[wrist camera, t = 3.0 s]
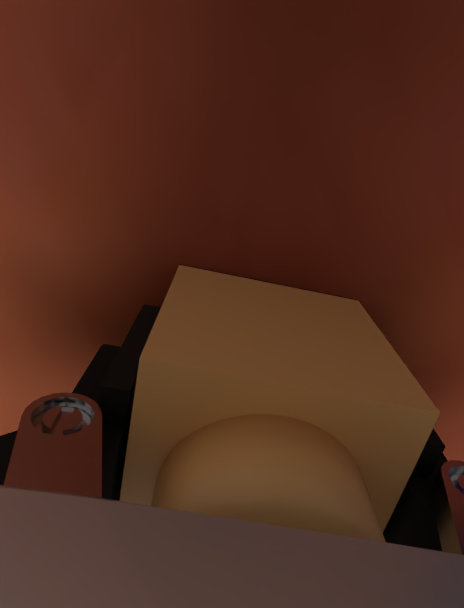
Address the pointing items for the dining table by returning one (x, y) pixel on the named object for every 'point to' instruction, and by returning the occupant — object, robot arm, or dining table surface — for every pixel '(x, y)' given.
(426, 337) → the dining table surface
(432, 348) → the dining table surface
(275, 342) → the cube with dome knob
